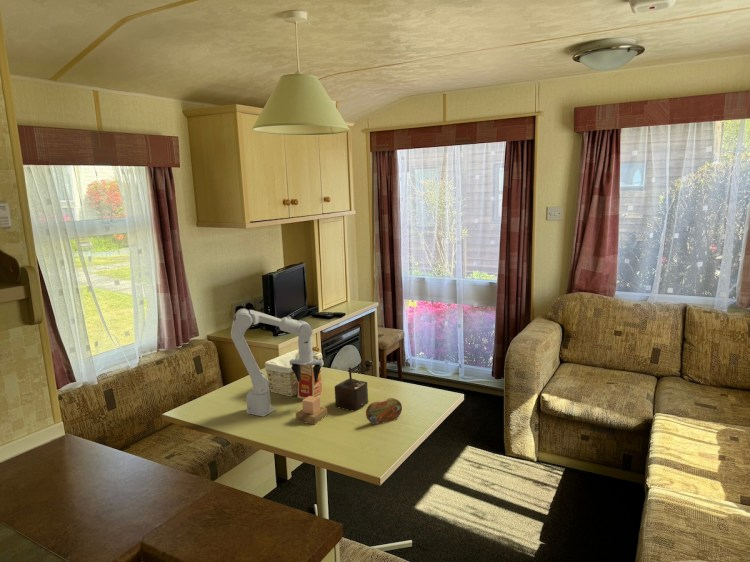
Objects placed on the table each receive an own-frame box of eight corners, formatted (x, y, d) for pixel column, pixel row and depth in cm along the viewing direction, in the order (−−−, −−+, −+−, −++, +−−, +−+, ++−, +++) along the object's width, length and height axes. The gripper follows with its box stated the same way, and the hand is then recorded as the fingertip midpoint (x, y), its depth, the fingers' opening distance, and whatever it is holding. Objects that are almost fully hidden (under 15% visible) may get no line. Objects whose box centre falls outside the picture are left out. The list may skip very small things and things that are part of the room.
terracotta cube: (303, 412, 206) (302, 400, 206) (310, 407, 211) (309, 395, 210) (313, 414, 204) (312, 402, 203) (320, 409, 208) (319, 397, 208)
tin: (368, 426, 198) (367, 406, 196) (365, 423, 201) (364, 403, 199) (402, 417, 205) (402, 397, 203) (398, 414, 207) (398, 394, 206)
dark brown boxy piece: (356, 412, 212) (354, 370, 209) (334, 407, 217) (332, 366, 214) (376, 398, 224) (374, 359, 221) (355, 394, 230) (353, 355, 227)
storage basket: (290, 399, 229) (288, 367, 226) (265, 392, 238) (262, 361, 235) (325, 381, 248) (323, 352, 245) (300, 376, 257) (298, 347, 255)
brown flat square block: (296, 420, 206) (295, 413, 205) (309, 411, 214) (308, 405, 213) (314, 424, 202) (314, 417, 201) (327, 415, 210) (327, 408, 209)
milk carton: (297, 398, 229) (294, 354, 226) (307, 390, 238) (304, 348, 234) (315, 400, 226) (312, 356, 222) (325, 392, 234) (322, 350, 231)
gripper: (285, 352, 215) (288, 383, 218) (318, 353, 212) (320, 385, 214) (292, 347, 222) (294, 378, 224) (324, 348, 219) (326, 379, 221)
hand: (307, 381), depth 220 cm, fingers open, 7 cm apart
